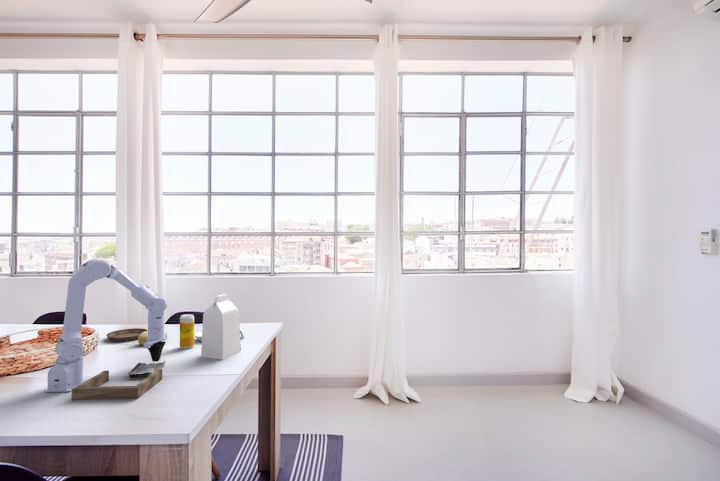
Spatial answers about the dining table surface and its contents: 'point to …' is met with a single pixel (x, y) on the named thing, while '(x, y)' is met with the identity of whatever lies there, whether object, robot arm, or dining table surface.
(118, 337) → the plant saucer
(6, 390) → the dining table surface
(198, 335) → the spoon rest
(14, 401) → the dining table surface
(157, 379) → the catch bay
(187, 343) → the yellow bottle
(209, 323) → the milk
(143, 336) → the beige rounded lump
